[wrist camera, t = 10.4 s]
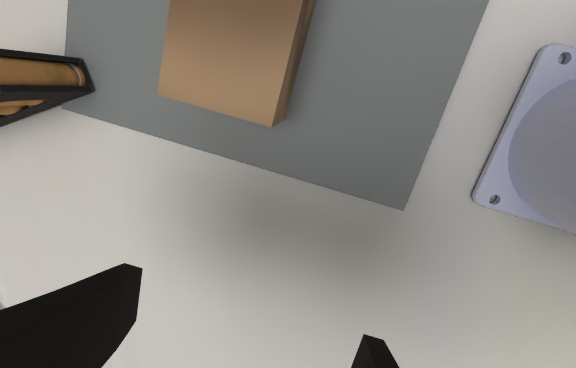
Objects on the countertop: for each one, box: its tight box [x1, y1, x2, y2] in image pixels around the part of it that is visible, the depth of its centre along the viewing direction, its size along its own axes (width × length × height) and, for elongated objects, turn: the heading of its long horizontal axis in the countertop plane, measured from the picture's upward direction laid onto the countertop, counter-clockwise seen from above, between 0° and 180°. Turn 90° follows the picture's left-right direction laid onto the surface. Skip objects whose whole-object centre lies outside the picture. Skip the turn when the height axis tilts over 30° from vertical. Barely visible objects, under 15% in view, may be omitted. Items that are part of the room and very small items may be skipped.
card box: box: [157, 0, 316, 128], centre depth 14 cm, size 9×5×4 cm, turn 165°
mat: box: [62, 0, 489, 211], centre depth 16 cm, size 20×15×1 cm
